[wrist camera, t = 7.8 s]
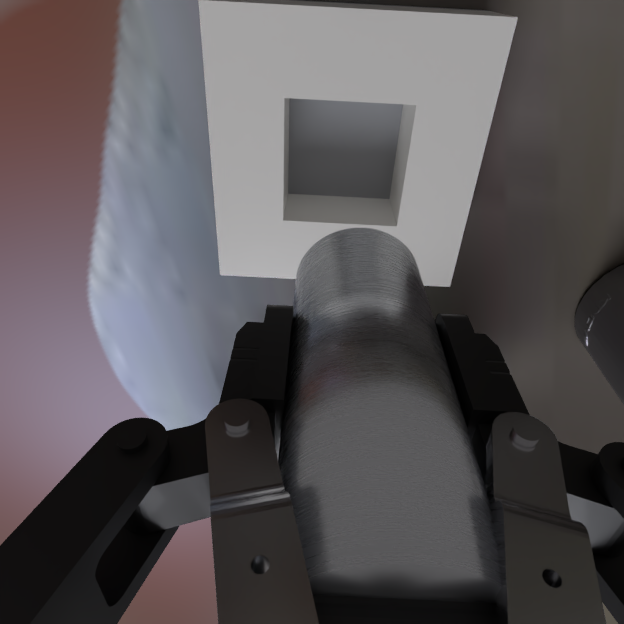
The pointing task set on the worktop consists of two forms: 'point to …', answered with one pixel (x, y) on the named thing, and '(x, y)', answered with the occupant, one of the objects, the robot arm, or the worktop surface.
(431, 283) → the socket block
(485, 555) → the peg
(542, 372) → the worktop surface
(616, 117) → the worktop surface
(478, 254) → the worktop surface
